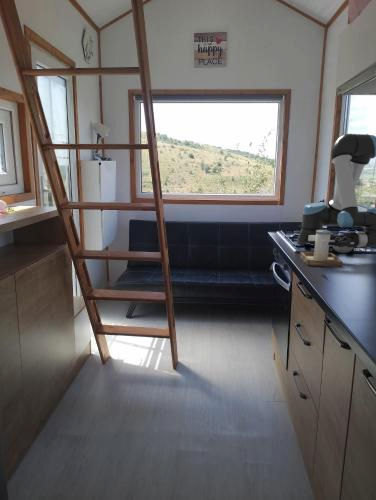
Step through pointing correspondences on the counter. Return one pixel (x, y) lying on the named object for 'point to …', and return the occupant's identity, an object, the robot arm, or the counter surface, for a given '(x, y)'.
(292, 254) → the counter surface
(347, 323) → the counter surface
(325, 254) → the canister
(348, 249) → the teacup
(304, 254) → the tray
